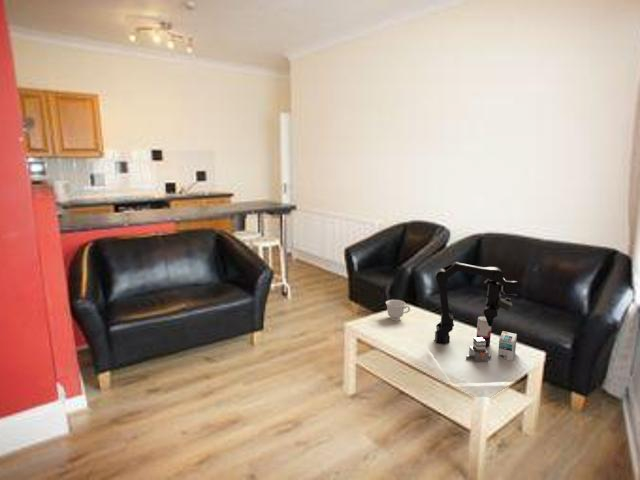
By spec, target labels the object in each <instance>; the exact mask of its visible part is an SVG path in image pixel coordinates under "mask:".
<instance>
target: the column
mask: <svg viewBox="0 0 640 480" xmlns="http://www.w3.org/2000/svg"><path fill="white" fill-rule="evenodd" d="M472 346H473V349H474V350H475V351H476V352H485V351H486V350H487V347H486V340H485V339H483V338H482V337H477V336H476V337H475V336H474V337H473V341H472Z"/></svg>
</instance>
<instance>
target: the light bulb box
mask: <svg viewBox="0 0 640 480" xmlns="http://www.w3.org/2000/svg"><path fill="white" fill-rule="evenodd" d="M517 337H518V334H517V333H513V332H508V331H504V330H502V332H501V334H500V336H499V339H498V352H497V358H498V359H499V358H500V359H503V360H508V361H511V362H513V361H514V359H515V356H516V348H517Z"/></svg>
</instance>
